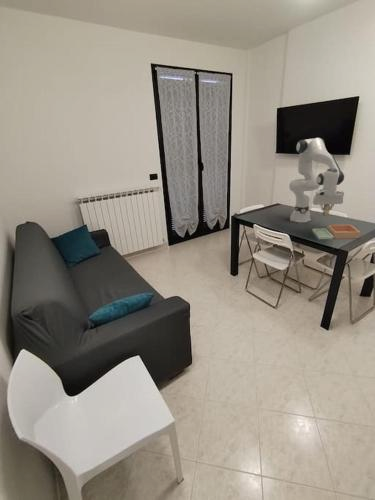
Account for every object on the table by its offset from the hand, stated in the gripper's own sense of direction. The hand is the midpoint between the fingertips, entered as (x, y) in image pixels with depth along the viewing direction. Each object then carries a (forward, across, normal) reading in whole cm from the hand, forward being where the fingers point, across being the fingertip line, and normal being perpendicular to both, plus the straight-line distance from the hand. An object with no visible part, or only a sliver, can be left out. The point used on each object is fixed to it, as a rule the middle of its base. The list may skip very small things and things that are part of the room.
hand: (326, 209), depth 186 cm
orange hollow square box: (+22, -14, 0) cm, 26 cm away
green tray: (+22, 0, 0) cm, 22 cm away
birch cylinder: (+4, 0, 0) cm, 4 cm away
